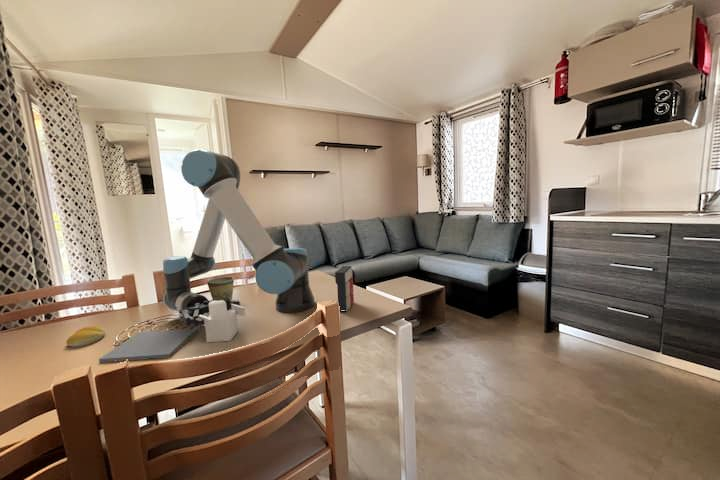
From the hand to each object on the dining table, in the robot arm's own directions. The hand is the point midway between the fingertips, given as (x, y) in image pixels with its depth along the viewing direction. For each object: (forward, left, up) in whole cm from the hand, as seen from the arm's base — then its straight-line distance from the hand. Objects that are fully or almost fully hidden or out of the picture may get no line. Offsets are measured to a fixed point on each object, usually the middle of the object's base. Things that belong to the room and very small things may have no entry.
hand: (228, 317), depth 88 cm
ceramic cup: (+15, -37, -7) cm, 41 cm away
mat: (+22, 0, -7) cm, 23 cm away
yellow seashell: (+47, -7, -8) cm, 48 cm away
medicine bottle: (+3, -3, -7) cm, 8 cm away
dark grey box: (-36, -22, -7) cm, 42 cm away
